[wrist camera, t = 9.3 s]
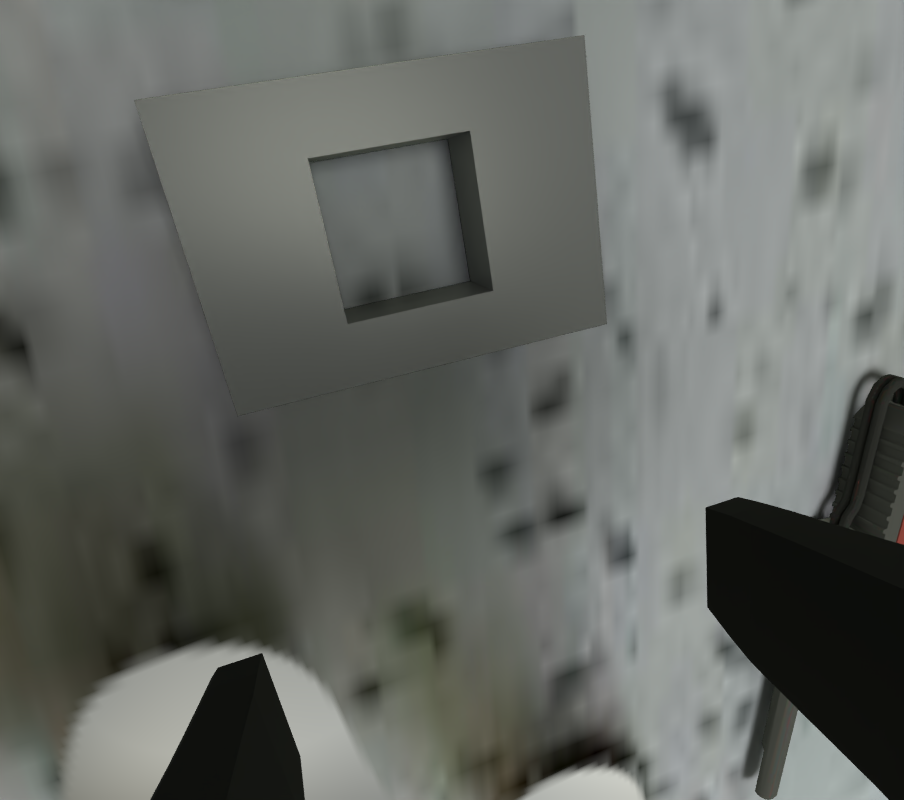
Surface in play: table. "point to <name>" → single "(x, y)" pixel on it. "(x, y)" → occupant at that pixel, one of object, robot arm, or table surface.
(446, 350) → the fuse block
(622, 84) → the table surface
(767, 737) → the red belt-clip case
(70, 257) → the table surface
